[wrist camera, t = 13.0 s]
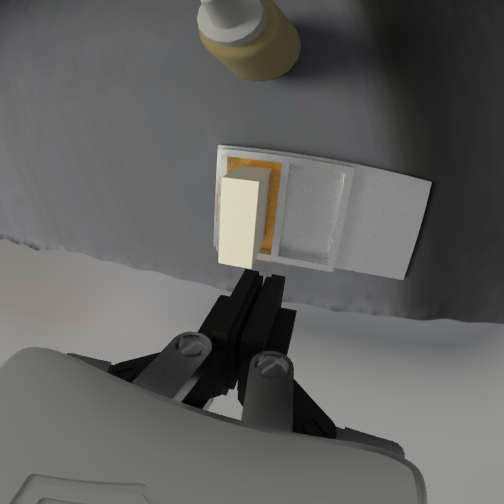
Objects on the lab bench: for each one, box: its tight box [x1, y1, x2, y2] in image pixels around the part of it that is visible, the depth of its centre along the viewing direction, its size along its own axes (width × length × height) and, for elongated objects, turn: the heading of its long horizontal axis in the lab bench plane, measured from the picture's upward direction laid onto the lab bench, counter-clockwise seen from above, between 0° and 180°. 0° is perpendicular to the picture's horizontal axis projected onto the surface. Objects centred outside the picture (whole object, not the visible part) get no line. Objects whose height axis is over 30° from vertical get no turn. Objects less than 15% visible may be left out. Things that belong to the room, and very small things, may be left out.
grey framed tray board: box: [214, 144, 432, 280], centre depth 33 cm, size 25×13×2 cm, turn 85°
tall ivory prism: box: [218, 165, 272, 269], centre depth 32 cm, size 4×9×7 cm, turn 175°
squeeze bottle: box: [197, 0, 301, 82], centre depth 19 cm, size 8×8×18 cm
